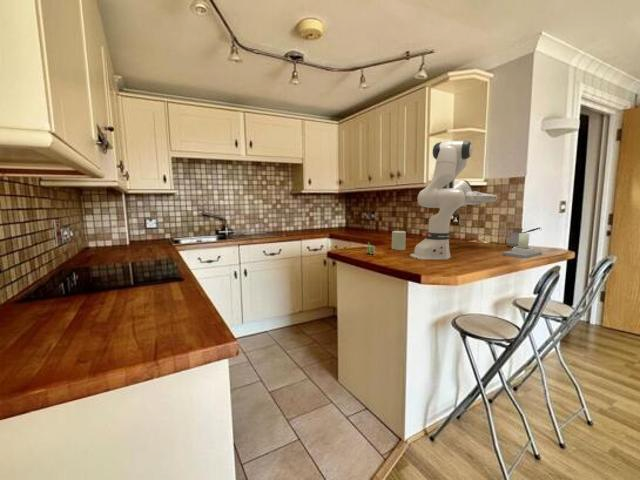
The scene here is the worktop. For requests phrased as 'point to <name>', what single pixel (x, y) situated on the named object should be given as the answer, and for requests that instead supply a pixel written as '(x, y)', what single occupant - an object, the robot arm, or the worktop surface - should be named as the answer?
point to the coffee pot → (516, 236)
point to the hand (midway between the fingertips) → (489, 197)
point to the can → (398, 240)
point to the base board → (522, 252)
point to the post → (523, 240)
